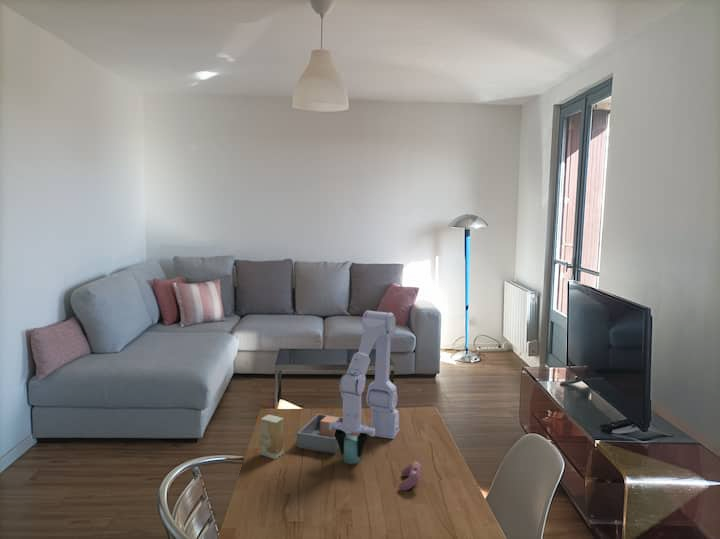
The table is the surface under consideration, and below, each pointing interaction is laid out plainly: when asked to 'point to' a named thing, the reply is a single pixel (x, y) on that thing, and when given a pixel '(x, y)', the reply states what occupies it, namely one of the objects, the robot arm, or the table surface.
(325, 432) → the terracotta cube
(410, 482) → the pink curved lump
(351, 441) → the teal cylinder
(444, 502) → the table surface
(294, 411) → the table surface
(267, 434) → the skincare box
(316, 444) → the tote
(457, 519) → the table surface
